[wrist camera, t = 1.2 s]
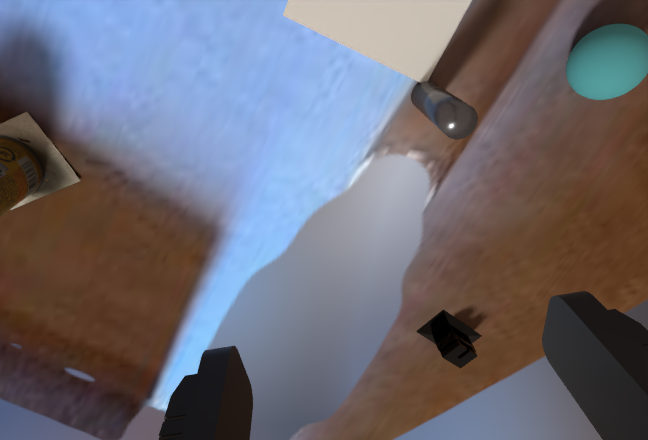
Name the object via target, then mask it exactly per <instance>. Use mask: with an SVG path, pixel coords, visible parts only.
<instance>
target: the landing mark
mask: <svg viewBox="0 0 648 440" xmlns="http://www.w3.org/2000/svg"><path fill="white" fill-rule="evenodd" d="M471 1H472V0H288V3H287V5H286V8H285V11H284V14H283V16H285V17H287V18H289V19H291V20H293V21H295V22H298V23H300V24H302V25H304V26H306V27H308V28H310V29H312V30H314V31H316V32H318V33H320V34H322V35H324V36H326V37H328V38H330V39H332V40H334V41H336V42H338V43H340V44H342V45H344V46H346V47H349V48H351V49H353V50H355V51H357V52H359V53H361V54H363V55H365V56H367V57H369V58H371V59H373V60H375V61H377V62H379V63H381V64H383V65H385V66H387V67H389V68H391V69H393V70H395V71H397V72H400V73H402V74H404V75H406V76H408V77H410V78H412V79H414V80H416V81H418V82H420V83H421V82H424V81H428V80H429V78H430V76H431V74H432V72H433V70H434V69H435V67H436V65H437V63H438V61H439V59H440V58H441V56H442V54H443V52H444V50H445V48H446V47H447V45H448V43H449V41H450V39H451V38H452V36H453V34H454V32H455V30H456V28H457V27H458V25H459V23H460V21H461V19H462V17H463V16H464V14H465V12H466V10H467V8H468V7H469V5H470V3H471Z"/></svg>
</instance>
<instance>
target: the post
mask: <svg viewBox="0 0 648 440" xmlns="http://www.w3.org/2000/svg"><path fill="white" fill-rule="evenodd" d="M411 100H412V103H413V104H414V106H415V107H416V108H418V109H419V110H420V111H421V112H422V113H423V114H424V115H425V116H426V117H427V118H428V119H429V120H430V121H432V122H433V123H434V124H435V125H436V126H437V127H438V128H439V129H440V130H441V131H442V132H443V133H445V134H446V135H447V136H448V137H449V138H452V139H462V138H465V137H467V136H468V135H470V134H471V133H472V132H473V130H474V129H475V127H476V125H477V121H478V116H477V113H476V111H475V109H474V108H473V107H471V106H470V105H468V104H466V103H465V102H463V101H462V100H460V99H459V98H457V97H455V96H454V95H452V94H451V93H449V92H448V91H446V90H444V89H443V88H441V87H440V86H438V85H436V84H435V83H433V82H431V81H424V82H421V83H418V84H417V85H416V86H415V87H414V89H413V91H412V94H411Z"/></svg>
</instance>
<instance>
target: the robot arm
mask: <svg viewBox="0 0 648 440" xmlns="http://www.w3.org/2000/svg"><path fill="white" fill-rule="evenodd" d="M542 343H543V349H544V352H545V355H546V357H547V359H548V361H549V363H550V364H551V366H552V367H553V369H554V370H555V371H556V373H557V374H558V376H559V377H560V379H561V380H562V382H563V383H564V385H565V386H566V387H567V389H568V390H569V392H570V393H571V395H572V396H573V397H574V399H575V400H576V402H577V403H578V405H579V406H580V408H581V409H582V410H583V412H584V413H585V415H586V416H587V418H588V419H589V421H590V422H591V423H592V425H593V426H594V428H595V429H596V431H597V432H598V433H599V435H600V436H601V438H602V439H603V440H648V330H647V329H646V328H645V327H644V326H642V325H641V324H640V323H639V322H637V321H635V320H633V319H632V318H630V317H628V316H626V315H625V314H623V313H621V312H619V311H618V310H616V309H612V310H607V309H606V308H605V307H604V306H603V305H602V304H601V303H600V302H599V301H598V300H597V299H596V298H595V297H594V296H593V295H592V294H590V293H589V292H586V291H582V292H575V293H569V294H563V295H557V296H553V297H551V299H550V301H549V305H548V311H547V316H546V321H545V326H544V332H543V337H542ZM252 410H253V396H252V388H251V384H250V381H249V378H248V376H247V373H246V370H245V368H244V365H243V363H242V360H241V357H240V355H239V352H238V350H237V348H236V347H235V346H230V347H224V348H217V349H212V350H205V351H204V353H203V354H202V357H201V361H200V365H199V369H198V373H197V374H193V375H187V376H185V377H184V378H183V380H182V381H181V382H180V384H179V385H178V387H177V388H176V390H175V391H174V392H173V394H172V395H171V398H170V401H169V404H168V408H167V411H166V414H165V421H164V422H163V424H162V427H161V430H160V433H159V440H249V439H250V430H251V420H252Z"/></svg>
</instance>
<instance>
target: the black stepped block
mask: <svg viewBox="0 0 648 440" xmlns="http://www.w3.org/2000/svg"><path fill="white" fill-rule="evenodd" d="M417 332H418V333H419V334H421V335H422V336H424V337H426V338H427V339H429V340H430V341H432V342H434V343H435V344H436V345H437V348H438V350H439V351H440V352H441V355H442V357H443V358H444V359H446V360H447V361H449V362H451V363H452V364H454V365H456V366H457V367H459V368H462V367H463V366H464V365H466V364H467V363H469V362H470V361H471V360H473V359H474V358H476V357H477V354H476V350H475V348H474V347H473V345H472V343H473V342H475V341H476V340H477V339H479V338H480V337H481V335H480V334H478V333H477V332H476V331H474V330H473V329H471V328H470V327H468V326H467V325H465V324H464V323H462V322H461V321H459V320H458V319H456V318H455V317H453V316H452V315H451V314H449V313H448V312H446V311H445V310H442V311H441V312H440V313H439V314H437V315H436V316H435V317H434V318H432V319H431V320H430V321H429V322H427V323H426V324H425V325H424V326H422V327H421V328H420V329H419V330H417Z"/></svg>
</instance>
